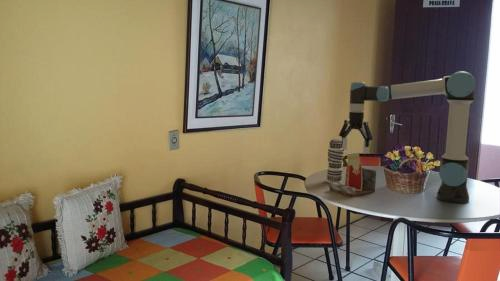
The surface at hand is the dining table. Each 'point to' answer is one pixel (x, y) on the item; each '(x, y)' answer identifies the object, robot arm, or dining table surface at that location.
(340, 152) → the decorative candle
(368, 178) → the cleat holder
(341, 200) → the dining table surface
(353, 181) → the milk carton
